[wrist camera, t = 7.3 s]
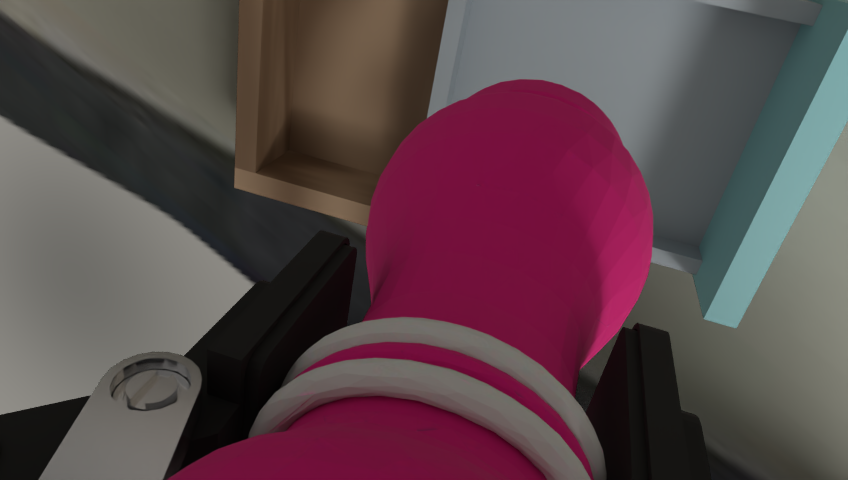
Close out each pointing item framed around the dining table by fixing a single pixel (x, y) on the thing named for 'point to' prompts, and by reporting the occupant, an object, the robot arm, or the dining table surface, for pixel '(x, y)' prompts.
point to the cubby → (330, 96)
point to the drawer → (683, 110)
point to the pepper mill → (470, 305)
